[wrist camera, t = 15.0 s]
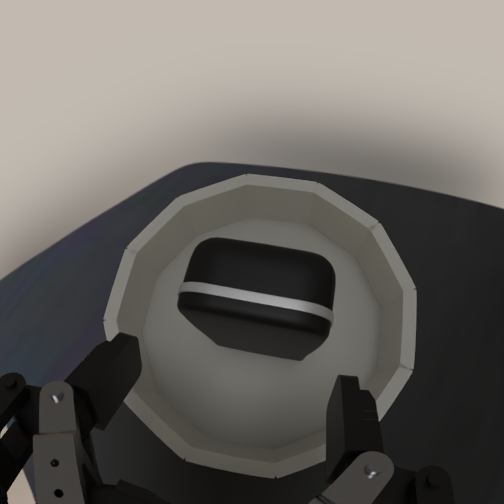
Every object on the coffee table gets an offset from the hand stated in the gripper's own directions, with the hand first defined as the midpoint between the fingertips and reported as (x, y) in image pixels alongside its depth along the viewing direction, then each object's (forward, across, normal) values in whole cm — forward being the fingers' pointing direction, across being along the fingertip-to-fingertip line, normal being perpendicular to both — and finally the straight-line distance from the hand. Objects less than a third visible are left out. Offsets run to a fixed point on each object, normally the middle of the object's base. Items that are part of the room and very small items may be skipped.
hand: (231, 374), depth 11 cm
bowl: (+11, 0, +5) cm, 12 cm away
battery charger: (+10, 0, +5) cm, 11 cm away
